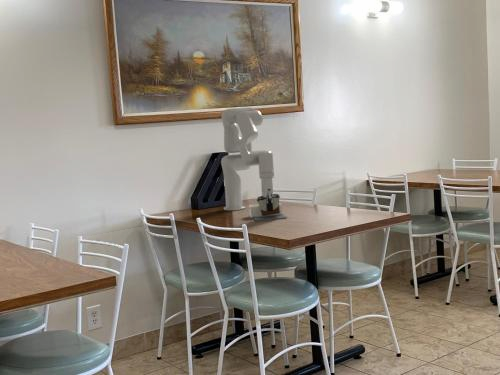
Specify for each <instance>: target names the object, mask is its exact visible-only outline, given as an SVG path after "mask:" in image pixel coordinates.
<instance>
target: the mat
mask: <svg viewBox="0 0 500 375" xmlns="http://www.w3.org/2000/svg"><path fill="white" fill-rule="evenodd" d="M287 218H288V217H287V216H285V214H283V213H282V215H272V216H264V217H262V216H261V217H253V218H252V219H253V220H254V221H255V222H261V221H263V222H264V221H271V220H272V221H273V220H274V221H276V220H285V219H287Z"/></svg>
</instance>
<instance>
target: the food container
mask: <svg viewBox="0 0 500 375" xmlns="http://www.w3.org/2000/svg"><path fill="white" fill-rule="evenodd" d="M268 197H269V196H268ZM280 198H281V195H280V194H278V193H273V197H272V203H273V211H267V206H266V203H267V200H266V197H265V198H264V197H263V196H262V195H261V196H258V197H257V198H256V202H257V204H259V207H260V211H261V214H262V217H264V216H269V215H275V214H280V206H279V203H280Z"/></svg>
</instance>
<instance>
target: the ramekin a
mask: <svg viewBox="0 0 500 375" xmlns="http://www.w3.org/2000/svg"><path fill="white" fill-rule="evenodd" d="M248 212H249V213H248V214H249V218H250V219H253V217H261V216H262V214H261V211H260V207H259V203H257V204H249V205H248Z"/></svg>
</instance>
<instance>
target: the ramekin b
mask: <svg viewBox="0 0 500 375" xmlns="http://www.w3.org/2000/svg"><path fill="white" fill-rule="evenodd" d="M279 206H280V214H275V215H282V214H283V206H282V203H280V202H279ZM269 216H272V215H269Z"/></svg>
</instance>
